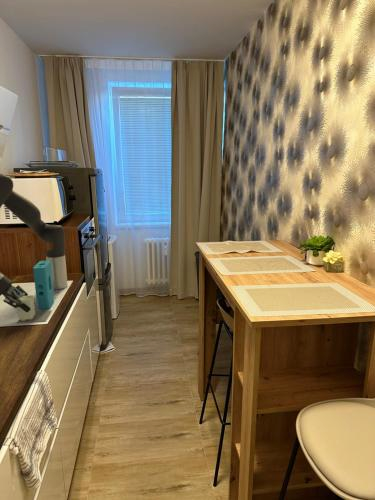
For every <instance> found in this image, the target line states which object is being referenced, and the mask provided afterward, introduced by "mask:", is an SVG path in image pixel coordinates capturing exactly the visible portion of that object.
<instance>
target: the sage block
mask: <svg viewBox="0 0 375 500" xmlns="http://www.w3.org/2000/svg"><path fill="white" fill-rule="evenodd" d="M34 298H35V297H34V295H33V294H32V295H28V296H20V300H21V301H22V302H23V303H24V304H26V305H27V306H28V307H30V308H31V309H30V310H29V312H25V311H24V310H23V309H21V308H20V307H19V308H18V307H17V311H18V320H23V319H32V318H33V317H34V315H35V311H36V309H35V308H36V307H35V304H34V303H35V299H34ZM18 302H19V301H18Z"/></svg>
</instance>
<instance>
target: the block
mask: <svg viewBox="0 0 375 500" xmlns="http://www.w3.org/2000/svg"><path fill="white" fill-rule="evenodd" d="M32 270H33V280H34V288H35V297H36V303H37V307H38V311H45V310H51V308H52V307H53V305H54V303H55V302H54V301H55V299H54V294H55V291H54V289H53V279H52V269H51V261H47V260H40V261H38V263H36V264H35V265H34V266H33V267H32Z"/></svg>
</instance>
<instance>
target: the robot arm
mask: <svg viewBox="0 0 375 500" xmlns="http://www.w3.org/2000/svg"><path fill="white" fill-rule="evenodd" d="M13 189H14V182H13V179H12V178H11V177H10V176H8V175H5V174H2V173H0V209H1V208H2V206H5V207H6V208H7V210H9V211H10V212H11V213H12V214H13V215H14V216H15V217H17V218H18V219H19V220H20V221H21V222H23V223H24V224H26V225H27V227H29V228H30V229H31V230H32V231H33V232H34V233H35V234H36V235H37V236H38V237H39V238H40V240H41V241H43V242H45V243H48V244H49V243H50V244H52V248H49V249H47V250H45V258H46V260H45V261H51V269H52V279H53V290H62V289H65V288H67V287H68V276H67V264H66V263H67V262H66V253H65V252H66V232H65V228H64V227H63V226H62V225H60V224H59V225H57V224H47V223H46V222H45V221H43V220H42V217H41V211H40V209H39V208H38V207H37V206H36V205H35V204H34V203H33V202H32V201H31V200H29V199H28V198H26V197H24V196H23V195H21V194H20V193H18V192H16V191H15V190H13ZM13 284H14V281H12V280H11V279H10V278H8V277H7V276H6V275H5V274H3V273H2V272H1V271H0V297H1V296H3V297H4V299H3V300H2V301H3V302H4V303H5V304H7V305H9V306H10V307H11V308H12V307H13V308H14V309H18V308H19V307H20V308H21V309H23V310H24V311H25V312H29V310H30V309H31V308H30V307H28V306H27V305H26V304H24V303H23V302H22V301H21V300H20V296H29V294H28V292H27V291H26V290H24V288H23V287H22V286H20V285H17V286H14V285H13ZM18 301H19V302H18ZM34 305H35V302H34Z"/></svg>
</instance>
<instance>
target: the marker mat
mask: <svg viewBox="0 0 375 500" xmlns="http://www.w3.org/2000/svg"><path fill="white" fill-rule="evenodd" d="M52 312H53V310H51V309H48V310H37V311H36V310H35V315H34V317H33V318H32V319H23V320H19V319H18V320H17V322H16V324H24V323H42V322H47V320H48V318H49V317H50V315H51V314H52Z"/></svg>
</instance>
